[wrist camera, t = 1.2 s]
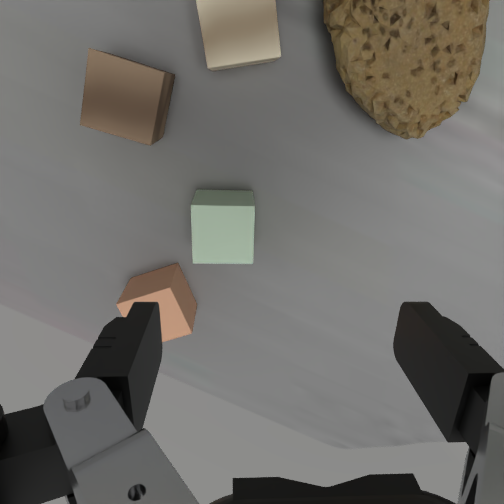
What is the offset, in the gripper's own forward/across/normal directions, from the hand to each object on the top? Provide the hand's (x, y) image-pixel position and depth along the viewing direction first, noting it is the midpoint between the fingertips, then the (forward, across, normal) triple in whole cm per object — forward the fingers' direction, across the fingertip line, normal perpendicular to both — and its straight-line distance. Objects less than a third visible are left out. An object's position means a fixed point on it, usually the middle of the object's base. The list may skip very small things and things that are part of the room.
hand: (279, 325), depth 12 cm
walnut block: (+23, +9, -7) cm, 26 cm away
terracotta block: (+23, +8, +11) cm, 27 cm away
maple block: (+23, +1, -12) cm, 26 cm away
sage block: (+23, +2, +3) cm, 23 cm away
